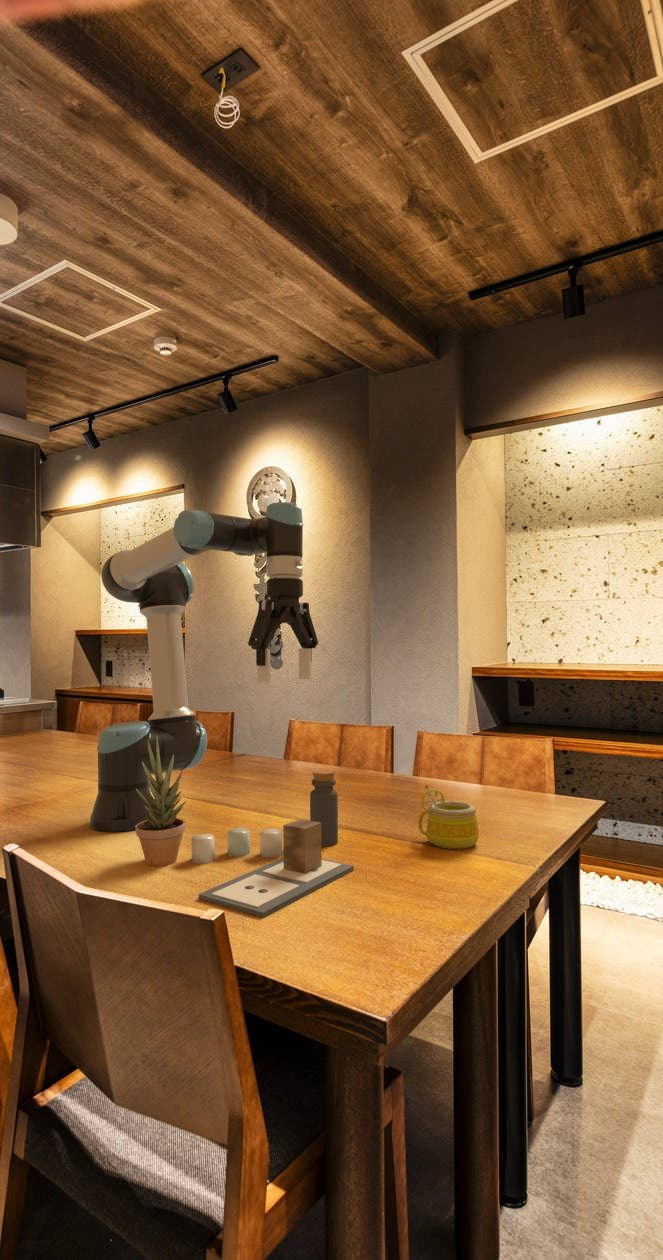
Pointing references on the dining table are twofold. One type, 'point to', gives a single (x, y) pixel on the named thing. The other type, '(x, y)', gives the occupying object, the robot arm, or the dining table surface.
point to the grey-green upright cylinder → (238, 842)
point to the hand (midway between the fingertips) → (285, 680)
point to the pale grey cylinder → (203, 848)
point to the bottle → (325, 806)
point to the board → (272, 887)
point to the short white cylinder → (270, 843)
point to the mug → (449, 822)
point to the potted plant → (161, 816)
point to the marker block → (302, 846)
